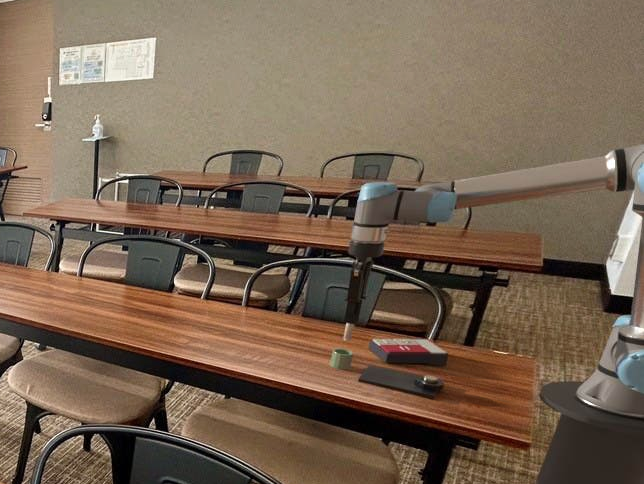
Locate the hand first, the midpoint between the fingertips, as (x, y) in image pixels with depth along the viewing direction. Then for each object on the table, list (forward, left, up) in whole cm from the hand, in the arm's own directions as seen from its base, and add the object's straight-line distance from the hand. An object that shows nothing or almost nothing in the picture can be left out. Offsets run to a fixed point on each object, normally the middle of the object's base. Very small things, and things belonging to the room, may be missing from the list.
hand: (350, 321), depth 164 cm
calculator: (-12, -19, -15) cm, 27 cm away
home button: (-20, +2, -12) cm, 23 cm away
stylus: (0, 0, -6) cm, 6 cm away
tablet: (-14, +2, -14) cm, 20 cm away
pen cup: (0, 0, -14) cm, 14 cm away
